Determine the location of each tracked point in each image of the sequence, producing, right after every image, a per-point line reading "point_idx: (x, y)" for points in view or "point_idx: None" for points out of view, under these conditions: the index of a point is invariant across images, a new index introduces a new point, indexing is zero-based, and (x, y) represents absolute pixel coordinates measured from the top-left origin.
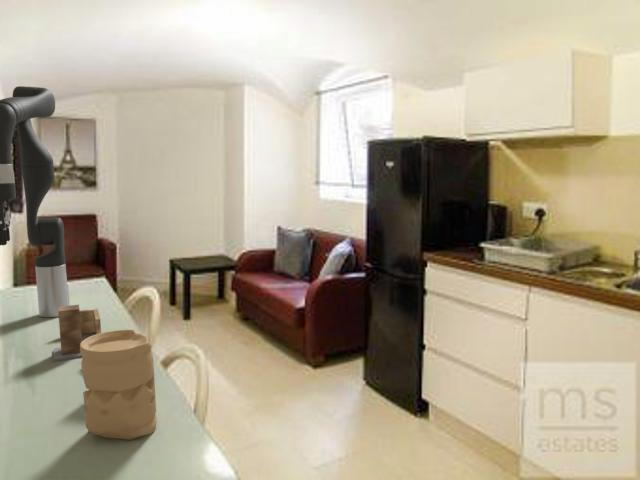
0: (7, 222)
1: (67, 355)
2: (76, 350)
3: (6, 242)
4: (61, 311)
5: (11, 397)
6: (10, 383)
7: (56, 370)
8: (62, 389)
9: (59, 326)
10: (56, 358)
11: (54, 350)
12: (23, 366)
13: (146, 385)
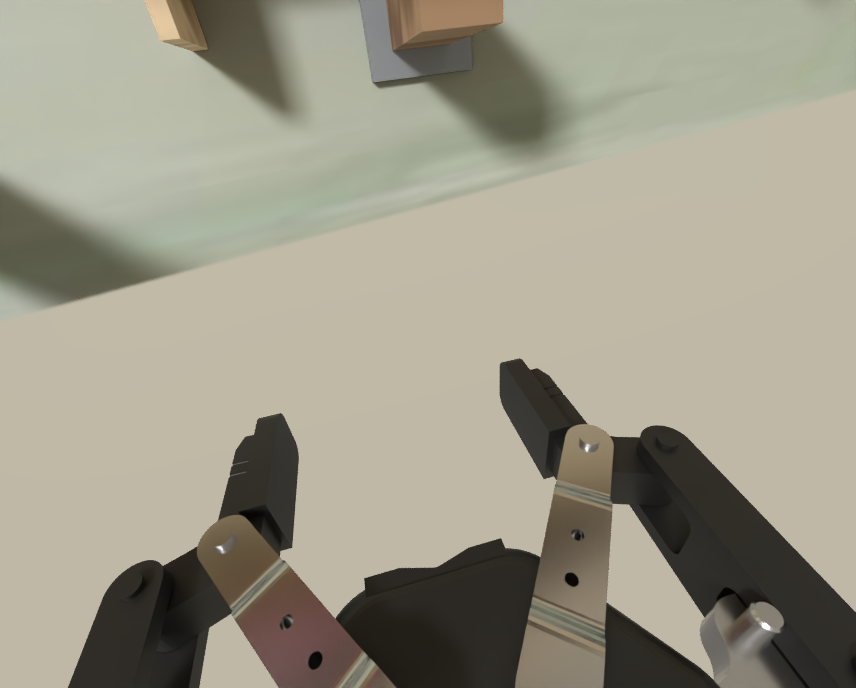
0: (566, 488)
1: None
2: None
3: (525, 364)
4: (502, 6)
5: (646, 135)
6: (572, 156)
7: (544, 49)
8: (674, 14)
9: (479, 31)
10: (471, 59)
11: (394, 77)
12: (477, 151)
13: None
